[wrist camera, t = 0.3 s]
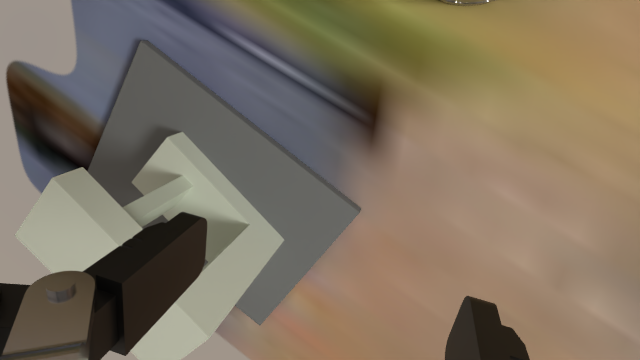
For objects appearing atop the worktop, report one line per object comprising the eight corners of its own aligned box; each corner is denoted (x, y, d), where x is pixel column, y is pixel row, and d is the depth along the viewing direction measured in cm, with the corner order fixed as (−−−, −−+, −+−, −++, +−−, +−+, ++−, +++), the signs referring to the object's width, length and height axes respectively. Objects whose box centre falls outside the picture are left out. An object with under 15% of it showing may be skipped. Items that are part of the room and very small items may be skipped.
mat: (88, 181, 38) (82, 184, 37) (147, 40, 31) (140, 40, 30) (263, 320, 37) (259, 325, 37) (361, 208, 31) (359, 212, 30)
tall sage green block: (284, 239, 33) (209, 337, 22) (242, 274, 35) (157, 377, 24) (182, 131, 32) (52, 177, 21) (147, 174, 34) (14, 235, 24)
